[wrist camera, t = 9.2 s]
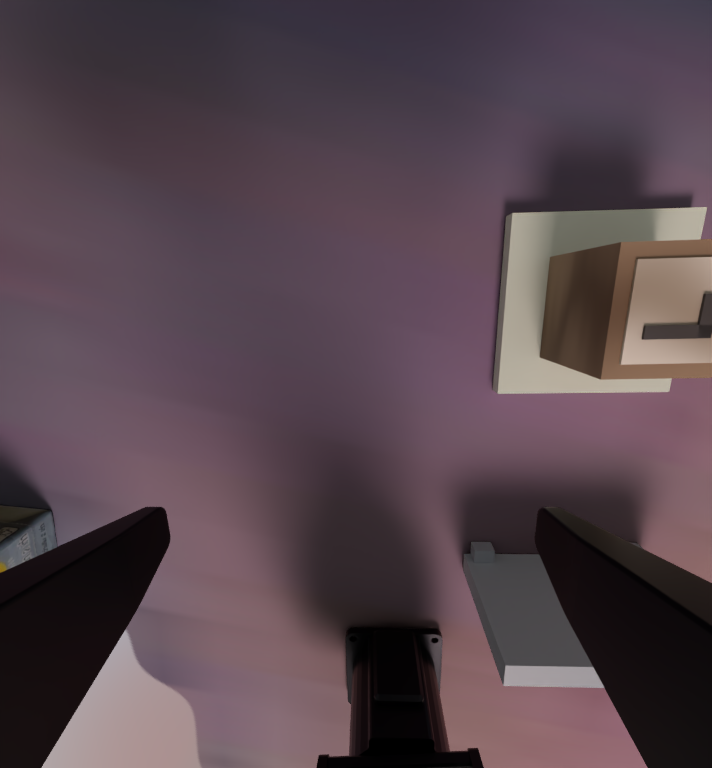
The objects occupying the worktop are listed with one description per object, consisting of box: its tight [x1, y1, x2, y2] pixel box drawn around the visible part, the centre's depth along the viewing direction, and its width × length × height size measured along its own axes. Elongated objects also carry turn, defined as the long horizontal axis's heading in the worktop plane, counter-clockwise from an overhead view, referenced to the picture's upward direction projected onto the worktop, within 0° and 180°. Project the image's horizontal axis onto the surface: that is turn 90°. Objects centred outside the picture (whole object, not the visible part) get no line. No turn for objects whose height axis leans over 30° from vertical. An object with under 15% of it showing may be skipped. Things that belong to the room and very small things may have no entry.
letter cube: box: [540, 239, 712, 380], centre depth 15 cm, size 5×5×5 cm
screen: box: [463, 542, 643, 688], centre depth 19 cm, size 3×11×7 cm, turn 91°
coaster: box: [493, 207, 707, 394], centre depth 18 cm, size 9×9×1 cm
